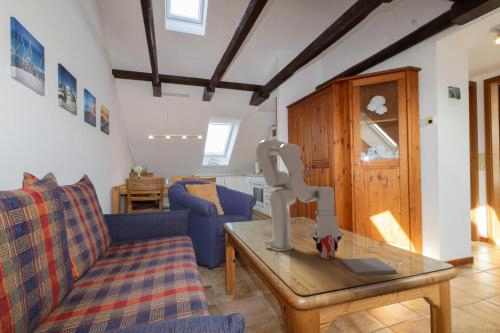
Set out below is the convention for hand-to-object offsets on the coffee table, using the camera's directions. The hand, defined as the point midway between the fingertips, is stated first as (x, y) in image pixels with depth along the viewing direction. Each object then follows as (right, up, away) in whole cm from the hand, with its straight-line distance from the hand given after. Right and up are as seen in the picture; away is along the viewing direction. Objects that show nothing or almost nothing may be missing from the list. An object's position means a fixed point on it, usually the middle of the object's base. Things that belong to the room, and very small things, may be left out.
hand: (327, 250), depth 115 cm
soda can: (0, -4, 0) cm, 4 cm away
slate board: (+13, -3, -13) cm, 18 cm away
